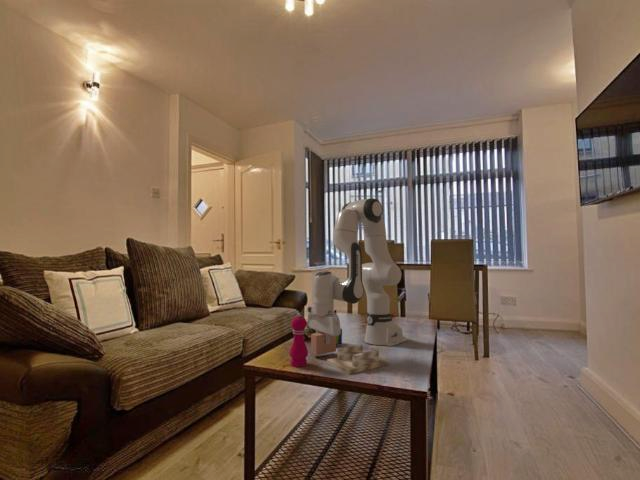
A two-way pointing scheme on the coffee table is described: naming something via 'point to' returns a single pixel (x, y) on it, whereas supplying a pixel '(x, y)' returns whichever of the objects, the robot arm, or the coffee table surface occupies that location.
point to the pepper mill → (298, 342)
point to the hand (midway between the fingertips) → (323, 342)
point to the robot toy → (312, 331)
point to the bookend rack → (356, 359)
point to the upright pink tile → (322, 344)
